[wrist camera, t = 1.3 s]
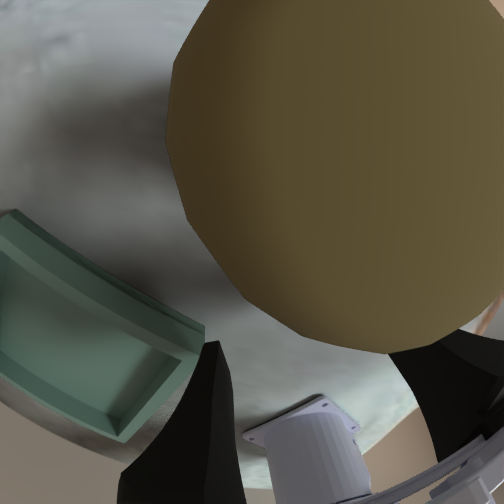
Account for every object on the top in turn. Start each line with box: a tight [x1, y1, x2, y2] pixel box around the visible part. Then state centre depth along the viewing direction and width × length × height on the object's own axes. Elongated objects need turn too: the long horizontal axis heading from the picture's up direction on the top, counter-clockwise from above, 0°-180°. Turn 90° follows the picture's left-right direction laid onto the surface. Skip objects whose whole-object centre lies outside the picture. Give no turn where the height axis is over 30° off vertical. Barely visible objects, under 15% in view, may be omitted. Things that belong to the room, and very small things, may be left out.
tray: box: [0, 209, 205, 444], centre depth 14 cm, size 13×13×2 cm
